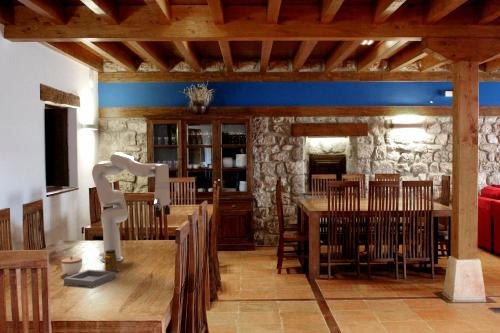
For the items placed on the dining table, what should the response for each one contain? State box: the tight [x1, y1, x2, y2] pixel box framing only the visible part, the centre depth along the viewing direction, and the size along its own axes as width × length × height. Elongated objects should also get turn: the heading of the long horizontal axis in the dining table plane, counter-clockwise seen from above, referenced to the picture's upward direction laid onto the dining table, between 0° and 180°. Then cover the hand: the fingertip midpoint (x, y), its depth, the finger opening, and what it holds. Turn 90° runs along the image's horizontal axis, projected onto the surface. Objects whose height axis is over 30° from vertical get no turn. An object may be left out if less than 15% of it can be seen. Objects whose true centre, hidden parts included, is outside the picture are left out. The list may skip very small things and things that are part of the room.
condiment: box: [104, 250, 122, 274], centre depth 260 cm, size 7×8×12 cm
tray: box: [63, 268, 117, 288], centre depth 243 cm, size 18×18×3 cm
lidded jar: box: [60, 256, 83, 276], centre depth 259 cm, size 11×11×9 cm
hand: (163, 215), depth 268 cm, fingers open, 9 cm apart
